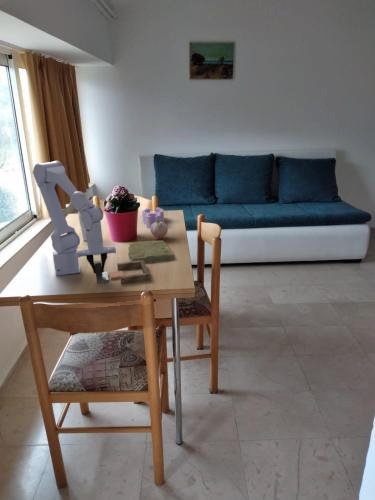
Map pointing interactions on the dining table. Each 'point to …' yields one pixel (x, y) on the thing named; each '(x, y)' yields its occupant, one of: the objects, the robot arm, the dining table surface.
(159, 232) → the decorative fruit
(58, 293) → the dining table surface
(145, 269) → the frame
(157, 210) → the purple lobed block
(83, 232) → the drinking glass
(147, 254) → the decorative tile
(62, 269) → the robot arm
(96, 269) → the grey block
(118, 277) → the salmon pink panel
